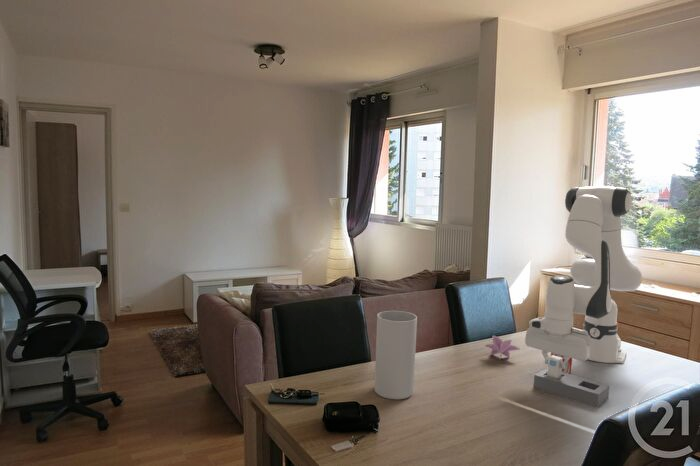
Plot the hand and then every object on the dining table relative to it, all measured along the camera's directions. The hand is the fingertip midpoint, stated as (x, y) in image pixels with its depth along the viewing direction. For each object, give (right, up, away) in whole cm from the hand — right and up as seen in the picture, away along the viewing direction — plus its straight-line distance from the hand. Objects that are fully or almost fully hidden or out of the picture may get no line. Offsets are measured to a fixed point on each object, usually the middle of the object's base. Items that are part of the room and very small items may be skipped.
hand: (554, 366), depth 162 cm
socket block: (+4, -9, -3) cm, 10 cm away
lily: (-9, -5, +28) cm, 30 cm away
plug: (0, -6, +1) cm, 6 cm away
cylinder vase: (-54, -7, -5) cm, 55 cm away
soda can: (+8, -7, +15) cm, 18 cm away
